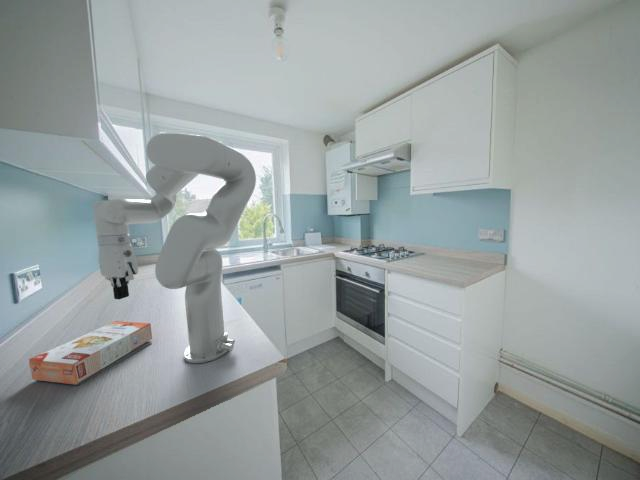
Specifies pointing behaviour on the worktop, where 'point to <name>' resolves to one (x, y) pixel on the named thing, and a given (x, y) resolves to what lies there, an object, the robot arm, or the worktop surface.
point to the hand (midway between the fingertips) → (121, 297)
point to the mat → (118, 360)
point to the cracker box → (89, 352)
